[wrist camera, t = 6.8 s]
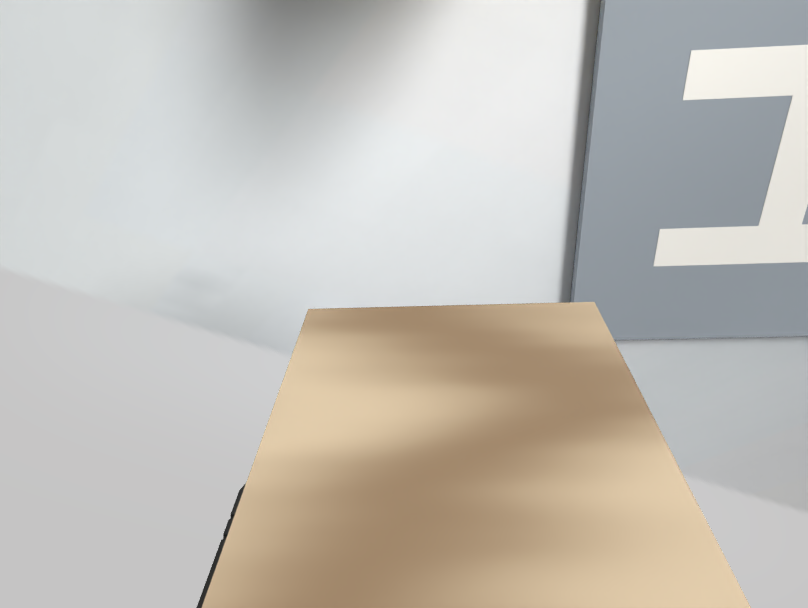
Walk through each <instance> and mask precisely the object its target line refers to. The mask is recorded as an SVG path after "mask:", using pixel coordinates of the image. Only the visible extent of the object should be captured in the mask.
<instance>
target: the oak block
mask: <svg viewBox="0 0 808 608" xmlns="http://www.w3.org/2000/svg"><path fill="white" fill-rule="evenodd" d="M202 608H751V607H750V605H749V603H748V601H747V599H746V597H745V595H744V593H743V591H742V589H741V587H740V586H739V584H738V582H737V580H736V578H735V576H734V574H733V572H732V570H731V568H730V566H729V564H728V562H727V560H726V558H725V556H724V554H723V552H722V550H721V548H720V546H719V544H718V543H717V541H716V539H715V537H714V535H713V533H712V531H711V529H710V527H709V525H708V523H707V521H706V519H705V517H704V515H703V513H702V511H701V509H700V508H699V505H698V503H697V502H696V499H695V498H694V496H693V494H692V492H691V490H690V488H689V486H688V484H687V482H686V480H685V478H684V476H683V474H682V472H681V470H680V468H679V466H678V464H677V462H676V460H675V458H674V456H673V455H672V453H671V451H670V449H669V447H668V445H667V443H666V441H665V439H664V437H663V435H662V433H661V431H660V429H659V427H658V425H657V423H656V421H655V419H654V417H653V415H652V413H651V412H650V410H649V408H648V406H647V404H646V402H645V400H644V398H643V396H642V394H641V392H640V390H639V388H638V386H637V384H636V382H635V380H634V378H633V376H632V374H631V372H630V370H629V369H628V367H627V365H626V363H625V361H624V359H623V357H622V355H621V353H620V351H619V349H618V347H617V345H616V343H615V341H614V339H613V337H612V335H611V333H610V331H609V329H608V327H607V326H606V324H605V322H604V320H603V318H602V316H601V314H600V312H599V310H598V308H597V306H596V304H595V302H570V303H530V304H490V305H450V306H410V307H370V308H330V309H308V311H307V314H306V317H305V320H304V323H303V325H302V328H301V331H300V334H299V337H298V339H297V342H296V345H295V348H294V351H293V353H292V356H291V359H290V362H289V365H288V367H287V371H286V373H285V376H284V379H283V382H282V384H281V387H280V390H279V393H278V396H277V398H276V401H275V404H274V407H273V409H272V412H271V415H270V418H269V421H268V423H267V426H266V429H265V432H264V435H263V437H262V440H261V443H260V446H259V449H258V451H257V454H256V457H255V460H254V463H253V465H252V468H251V471H250V474H249V477H248V480H247V482H246V485H245V488H244V491H243V493H242V496H241V499H240V502H239V505H238V507H237V510H236V513H235V516H234V519H233V521H232V524H231V527H230V530H229V533H228V535H227V538H226V541H225V544H224V547H223V549H222V552H221V555H220V558H219V561H218V563H217V566H216V569H215V572H214V574H213V577H212V580H211V583H210V586H209V588H208V591H207V594H206V597H205V600H204V602H203V605H202Z"/></svg>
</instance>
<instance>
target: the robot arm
mask: <svg viewBox="0 0 808 608" xmlns="http://www.w3.org/2000/svg"><path fill="white" fill-rule="evenodd" d="M245 485H246V484H245ZM245 485H244V486H243V487H242V488H241V489H240V491H239V493H238V496H237V499H236V502H235V504H234V507H233V510H232V512H231V519H229V521H228V523H227V526H226V529H225V531H224V538H223V540H221V542H220V545H219V548H218V551H217V553H216V556H215V559H214V562H213V564H212V567H211V570H210V573H209V576H208V578H207V581H206V584H205V586H204V589H203V592H202V595H201V597H200V600H199V603H198V606H197V608H202V605H203V602H204V600H205V597H206V594H207V591H208V588H209V586H210V583H211V580H212V577H213V574H214V572H215V569H216V566H217V563H218V561H219V558H220V555H221V552H222V549H223V547H224V544H225V541H226V538H227V535H228V533H229V530H230V527H231V524H232V521H233V519H234V516H235V513H236V510H237V507H238V505H239V502H240V499H241V496H242V493H243V491H244V488H245Z"/></svg>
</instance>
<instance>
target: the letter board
mask: <svg viewBox="0 0 808 608" xmlns="http://www.w3.org/2000/svg"><path fill="white" fill-rule="evenodd" d="M570 302H595V304H596V306H597V308H598V310H599V312H600V314H601V316H602V318H603V320H604V322H605V324H606V326H607V327H608V329H609V331H610V333H611V335H612V337H613V339H614V340H643V339H690V338H736V337H783V336H808V0H601V5H600V15H599V24H598V34H597V44H596V54H595V64H594V73H593V83H592V93H591V103H590V113H589V122H588V132H587V142H586V152H585V162H584V171H583V181H582V191H581V201H580V211H579V220H578V230H577V240H576V250H575V260H574V270H573V279H572V289H571V299H570Z"/></svg>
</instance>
